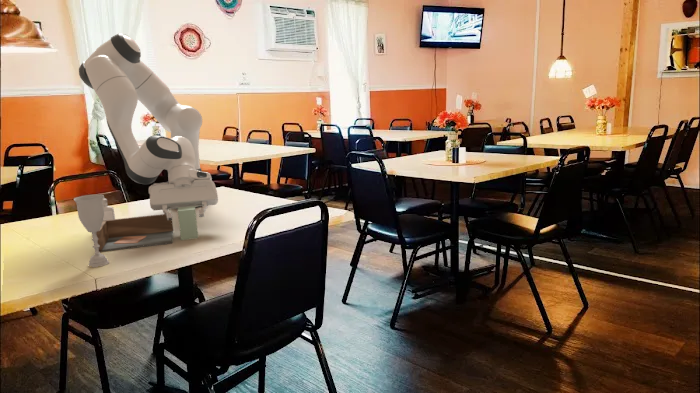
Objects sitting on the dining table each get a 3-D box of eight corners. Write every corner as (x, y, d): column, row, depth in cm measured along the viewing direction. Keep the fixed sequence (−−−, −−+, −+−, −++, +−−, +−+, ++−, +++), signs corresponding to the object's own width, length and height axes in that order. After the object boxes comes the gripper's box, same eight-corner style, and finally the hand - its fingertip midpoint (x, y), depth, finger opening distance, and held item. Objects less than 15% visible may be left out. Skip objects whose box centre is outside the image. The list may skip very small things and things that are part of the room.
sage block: (181, 236, 161) (177, 207, 159) (197, 234, 162) (194, 205, 161) (180, 240, 156) (177, 211, 155) (198, 238, 158) (195, 209, 156)
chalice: (98, 258, 142) (88, 194, 138) (119, 260, 140) (110, 194, 136) (77, 267, 135) (66, 199, 131) (99, 269, 133) (88, 200, 129)
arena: (105, 239, 161) (102, 220, 160) (173, 231, 167) (171, 213, 165) (97, 252, 148) (94, 231, 147) (171, 243, 153) (169, 223, 152)
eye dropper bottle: (110, 233, 168) (104, 196, 166) (95, 232, 170) (89, 196, 167) (118, 229, 172) (114, 194, 170) (104, 229, 174) (99, 193, 171)
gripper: (147, 177, 161) (148, 215, 153) (215, 172, 166) (219, 208, 159) (149, 189, 166) (151, 226, 158) (215, 184, 171) (220, 219, 164)
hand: (185, 217), depth 159 cm, fingers open, 8 cm apart
